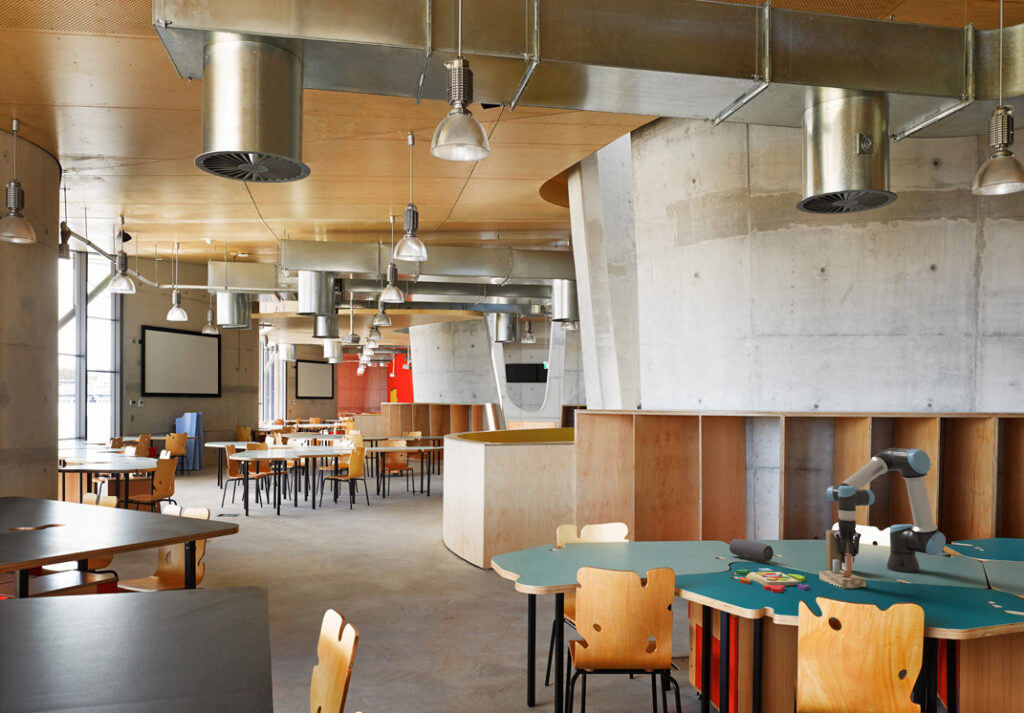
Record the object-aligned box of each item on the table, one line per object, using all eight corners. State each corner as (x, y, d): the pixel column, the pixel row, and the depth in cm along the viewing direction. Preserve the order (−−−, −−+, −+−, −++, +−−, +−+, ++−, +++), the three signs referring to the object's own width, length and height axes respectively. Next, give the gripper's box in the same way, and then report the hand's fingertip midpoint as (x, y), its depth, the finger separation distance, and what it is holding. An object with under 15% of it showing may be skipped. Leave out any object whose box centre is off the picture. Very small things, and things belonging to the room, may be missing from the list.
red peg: (848, 574, 357) (848, 553, 358) (852, 576, 354) (852, 554, 355) (842, 575, 357) (842, 553, 357) (846, 576, 354) (846, 554, 354)
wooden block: (851, 573, 381) (850, 533, 382) (829, 572, 383) (829, 532, 384) (846, 569, 391) (845, 530, 392) (825, 568, 393) (825, 529, 394)
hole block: (841, 578, 370) (841, 570, 370) (865, 587, 352) (865, 578, 352) (819, 579, 367) (819, 571, 368) (842, 588, 350) (842, 579, 350)
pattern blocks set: (718, 576, 373) (718, 569, 374) (771, 571, 387) (771, 565, 387) (773, 594, 338) (773, 587, 339) (829, 588, 352) (829, 581, 352)
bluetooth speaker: (774, 562, 406) (774, 543, 406) (763, 564, 400) (763, 545, 401) (739, 555, 424) (739, 537, 425) (728, 556, 419) (728, 538, 420)
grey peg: (837, 580, 366) (836, 559, 366) (841, 581, 363) (840, 560, 363) (831, 580, 365) (831, 559, 366) (835, 582, 362) (835, 560, 363)
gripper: (856, 517, 362) (857, 567, 361) (827, 518, 359) (827, 568, 358) (866, 520, 355) (867, 571, 353) (837, 520, 352) (837, 571, 350)
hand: (847, 569), depth 356 cm, fingers closed on red peg, 2 cm apart
